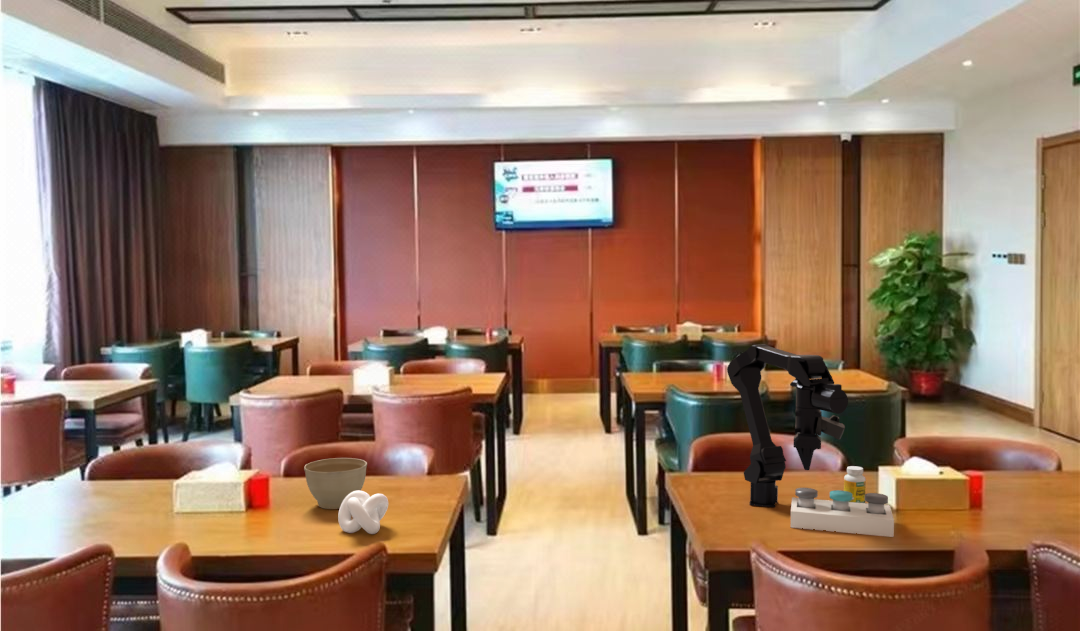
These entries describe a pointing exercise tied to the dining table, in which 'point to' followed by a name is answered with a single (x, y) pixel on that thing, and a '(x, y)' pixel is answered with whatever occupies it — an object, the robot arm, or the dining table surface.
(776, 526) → the dining table surface
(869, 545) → the dining table surface
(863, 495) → the supplement bottle
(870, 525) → the knob mount
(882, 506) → the knob
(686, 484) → the dining table surface
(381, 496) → the white knot sculpture
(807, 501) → the knob
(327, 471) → the planter bowl
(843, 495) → the middle knob
